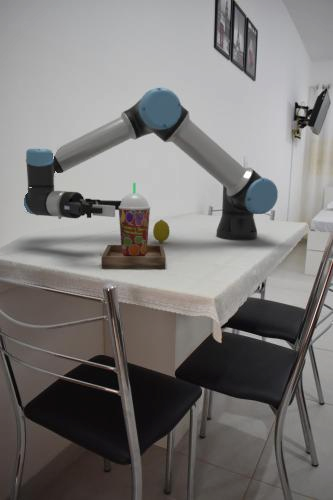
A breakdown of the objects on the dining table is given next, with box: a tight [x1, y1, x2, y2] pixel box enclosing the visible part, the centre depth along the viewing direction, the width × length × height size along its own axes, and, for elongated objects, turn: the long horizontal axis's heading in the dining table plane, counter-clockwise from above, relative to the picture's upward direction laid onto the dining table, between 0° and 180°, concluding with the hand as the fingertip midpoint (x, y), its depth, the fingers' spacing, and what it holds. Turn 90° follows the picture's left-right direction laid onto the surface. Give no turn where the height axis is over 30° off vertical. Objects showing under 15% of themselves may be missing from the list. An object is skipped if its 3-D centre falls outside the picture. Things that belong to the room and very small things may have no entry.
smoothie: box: [118, 182, 151, 256], centre depth 104 cm, size 8×8×20 cm
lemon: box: [152, 219, 171, 244], centre depth 132 cm, size 6×6×8 cm
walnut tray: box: [100, 244, 167, 270], centre depth 105 cm, size 16×16×3 cm
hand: (129, 209), depth 103 cm, fingers open, 13 cm apart
